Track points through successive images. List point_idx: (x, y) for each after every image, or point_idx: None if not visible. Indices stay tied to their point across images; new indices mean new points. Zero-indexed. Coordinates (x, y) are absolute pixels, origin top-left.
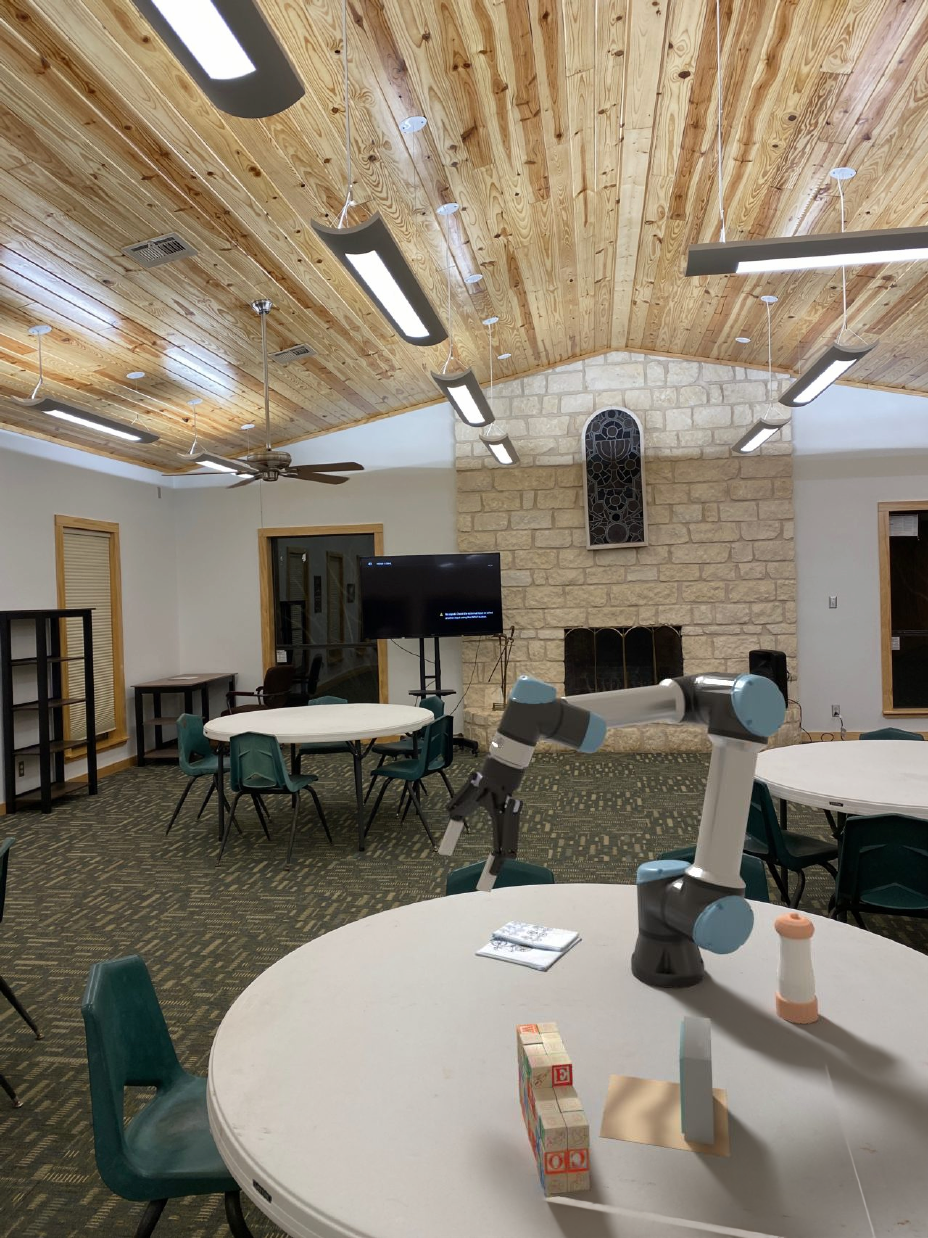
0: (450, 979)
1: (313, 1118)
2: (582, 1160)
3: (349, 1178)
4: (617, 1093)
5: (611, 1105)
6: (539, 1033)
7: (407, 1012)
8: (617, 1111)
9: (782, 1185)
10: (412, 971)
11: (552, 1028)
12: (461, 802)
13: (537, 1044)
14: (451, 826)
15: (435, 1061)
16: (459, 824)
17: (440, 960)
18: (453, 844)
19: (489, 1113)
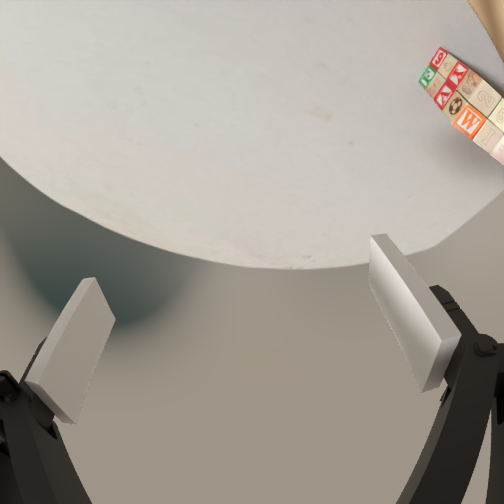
0: (88, 31)
1: (313, 232)
2: None
3: (395, 236)
4: (481, 2)
5: (491, 26)
6: (486, 117)
7: (157, 102)
8: (501, 30)
9: None
10: (59, 74)
11: (492, 96)
12: (5, 469)
13: (501, 141)
14: (79, 401)
15: (288, 113)
16: (55, 391)
17: (39, 37)
18: (81, 314)
19: (413, 118)
